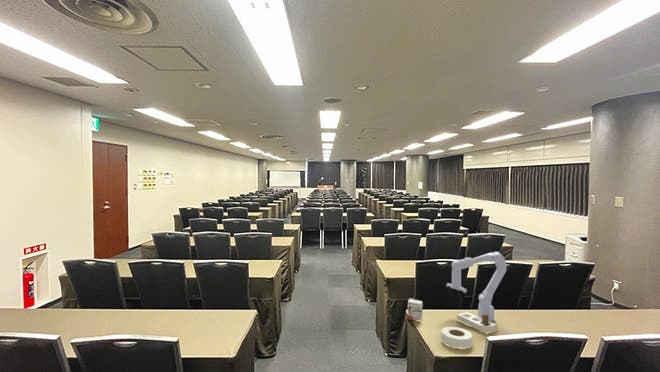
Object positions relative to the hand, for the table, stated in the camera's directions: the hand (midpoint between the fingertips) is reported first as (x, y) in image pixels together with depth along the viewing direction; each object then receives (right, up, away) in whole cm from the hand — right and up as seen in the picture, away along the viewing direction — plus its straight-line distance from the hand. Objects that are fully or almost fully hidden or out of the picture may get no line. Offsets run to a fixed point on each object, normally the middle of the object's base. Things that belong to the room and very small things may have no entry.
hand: (456, 300), depth 213 cm
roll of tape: (-14, -11, -36) cm, 40 cm away
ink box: (-29, -10, -6) cm, 31 cm away
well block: (+6, -11, -15) cm, 19 cm away
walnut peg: (+9, -9, -21) cm, 24 cm away
